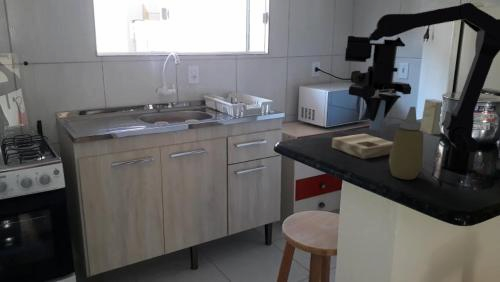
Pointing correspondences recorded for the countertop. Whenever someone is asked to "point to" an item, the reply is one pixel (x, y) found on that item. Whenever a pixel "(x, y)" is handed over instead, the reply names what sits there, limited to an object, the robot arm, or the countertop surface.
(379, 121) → the peg
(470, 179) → the countertop surface
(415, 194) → the countertop surface
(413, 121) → the squeeze bottle
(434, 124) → the skincare box
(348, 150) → the board
